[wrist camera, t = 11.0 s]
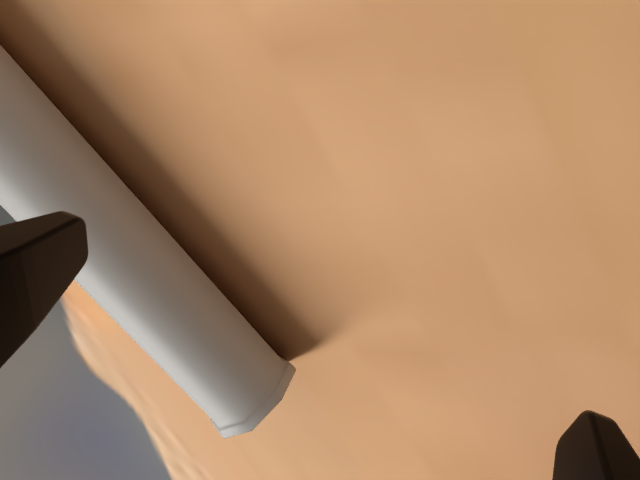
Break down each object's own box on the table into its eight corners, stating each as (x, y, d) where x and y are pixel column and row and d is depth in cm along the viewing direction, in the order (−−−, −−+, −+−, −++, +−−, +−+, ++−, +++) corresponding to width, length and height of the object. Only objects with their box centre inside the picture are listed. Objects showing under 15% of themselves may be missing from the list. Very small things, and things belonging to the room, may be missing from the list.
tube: (-178, 56, 23) (203, 434, 29) (-199, -16, 19) (250, 444, 25) (-61, 10, 26) (260, 362, 32) (-57, -61, 22) (310, 360, 28)
